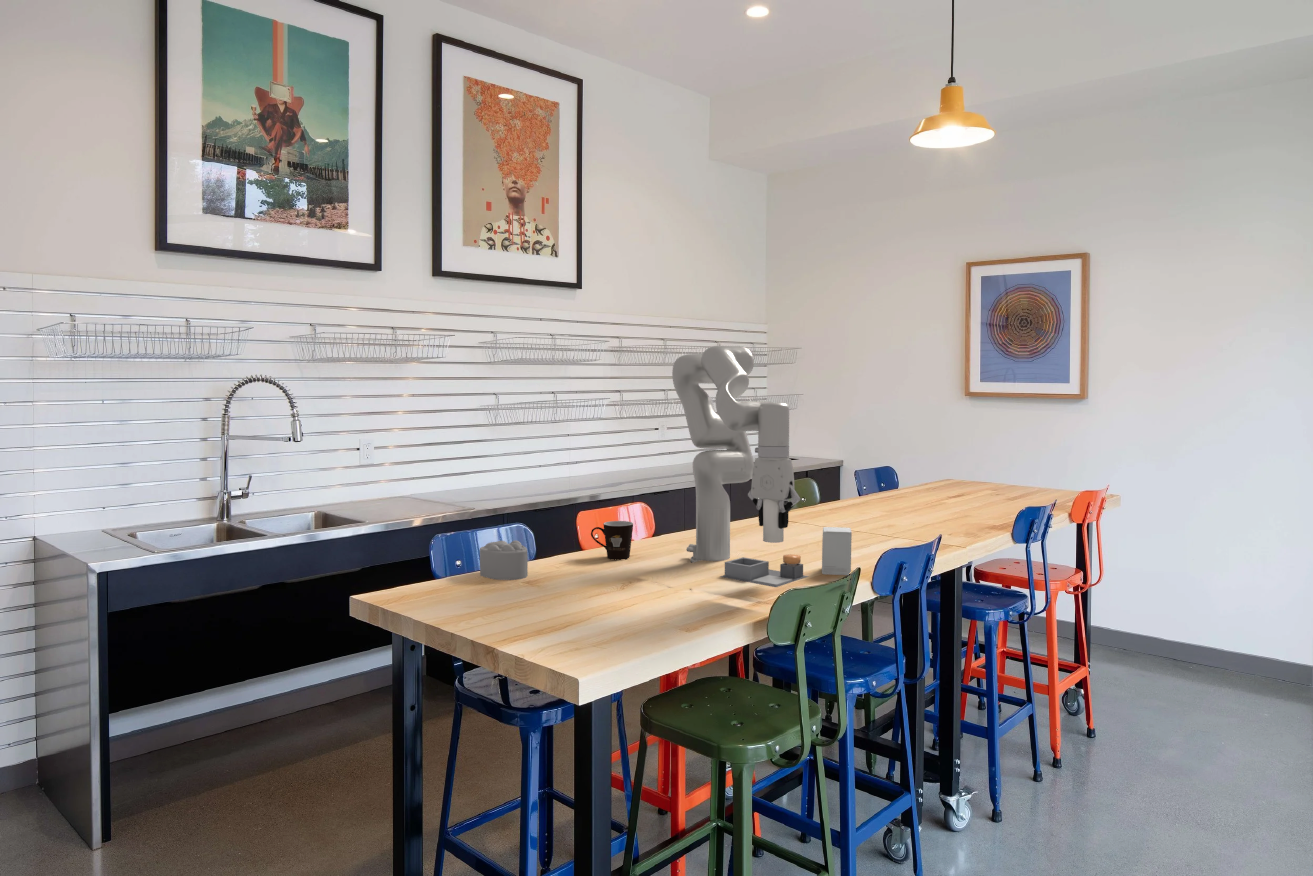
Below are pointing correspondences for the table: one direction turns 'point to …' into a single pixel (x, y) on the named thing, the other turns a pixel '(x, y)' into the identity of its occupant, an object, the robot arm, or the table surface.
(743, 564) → the grey compartment tray
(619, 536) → the coffee mug
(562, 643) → the table surface
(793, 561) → the glossy orange sphere
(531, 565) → the table surface
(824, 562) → the supplement box
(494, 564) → the lumpy-topped squat cylinder
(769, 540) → the cylinder
